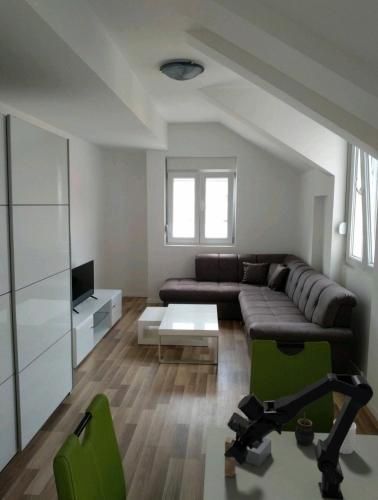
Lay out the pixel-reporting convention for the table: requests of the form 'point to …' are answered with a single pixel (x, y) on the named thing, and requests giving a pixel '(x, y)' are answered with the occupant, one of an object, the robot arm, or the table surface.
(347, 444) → the white cup
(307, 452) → the table surface
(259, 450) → the grey square socket holder
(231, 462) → the tall wooden pillar block
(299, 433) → the mate gourd
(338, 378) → the robot arm
